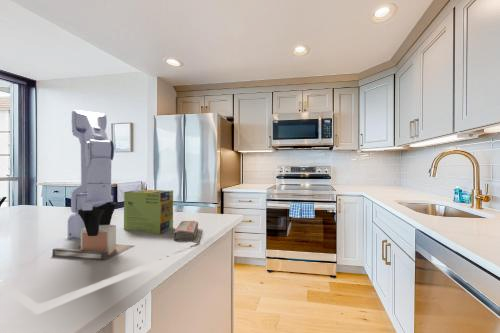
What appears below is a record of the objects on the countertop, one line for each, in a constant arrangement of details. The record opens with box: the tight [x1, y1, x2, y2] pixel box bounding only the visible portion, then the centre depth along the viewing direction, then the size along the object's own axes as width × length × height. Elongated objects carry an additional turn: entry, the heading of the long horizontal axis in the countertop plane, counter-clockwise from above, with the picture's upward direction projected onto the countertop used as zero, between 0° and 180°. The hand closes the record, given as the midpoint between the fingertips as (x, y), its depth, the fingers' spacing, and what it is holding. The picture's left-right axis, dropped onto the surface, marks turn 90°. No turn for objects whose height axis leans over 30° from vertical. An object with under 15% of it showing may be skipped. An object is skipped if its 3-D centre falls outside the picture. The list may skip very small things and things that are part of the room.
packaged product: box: [169, 220, 203, 246], centre depth 88 cm, size 18×5×10 cm
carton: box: [80, 224, 117, 255], centre depth 69 cm, size 5×7×7 cm
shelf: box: [51, 243, 135, 261], centre depth 70 cm, size 16×12×3 cm
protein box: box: [123, 189, 174, 235], centre depth 98 cm, size 10×15×16 cm
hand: (99, 231), depth 69 cm, fingers open, 7 cm apart
